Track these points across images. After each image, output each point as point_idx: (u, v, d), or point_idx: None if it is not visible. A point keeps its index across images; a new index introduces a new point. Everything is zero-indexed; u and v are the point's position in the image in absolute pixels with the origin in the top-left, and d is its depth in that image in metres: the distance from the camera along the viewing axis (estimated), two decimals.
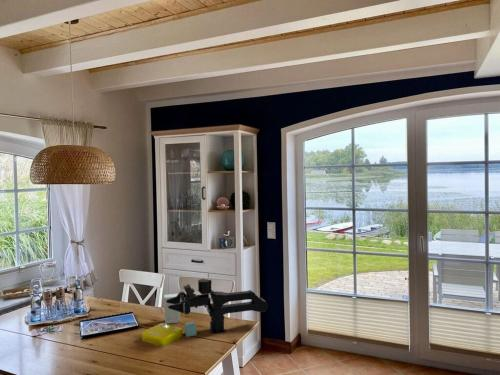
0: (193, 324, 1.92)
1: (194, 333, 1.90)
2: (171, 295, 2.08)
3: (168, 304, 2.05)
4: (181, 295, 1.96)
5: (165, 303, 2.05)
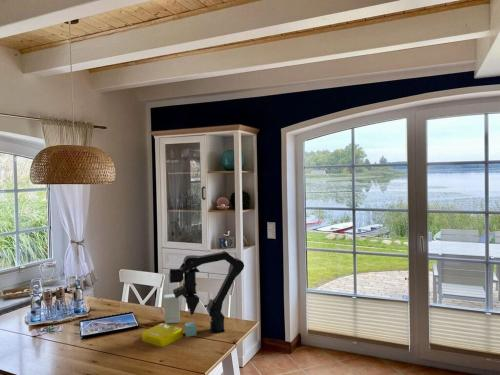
0: (193, 324, 1.92)
1: (194, 333, 1.90)
2: (171, 295, 2.08)
3: (168, 304, 2.05)
4: None
5: (165, 303, 2.05)
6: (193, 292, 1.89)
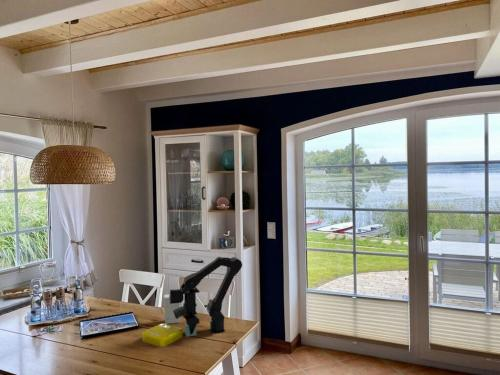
0: None
1: (194, 333, 1.90)
2: None
3: (168, 304, 2.05)
4: None
5: (165, 303, 2.05)
6: (193, 313, 1.90)
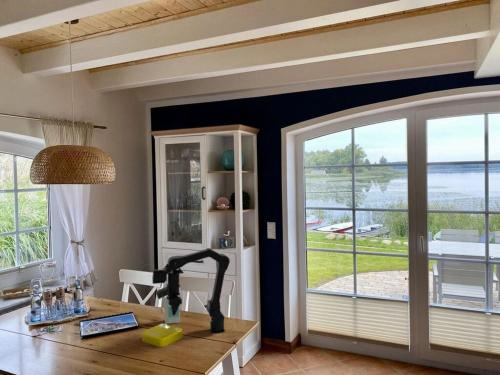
0: None
1: (177, 314, 1.87)
2: None
3: None
4: None
5: (165, 303, 2.05)
6: (176, 293, 1.87)
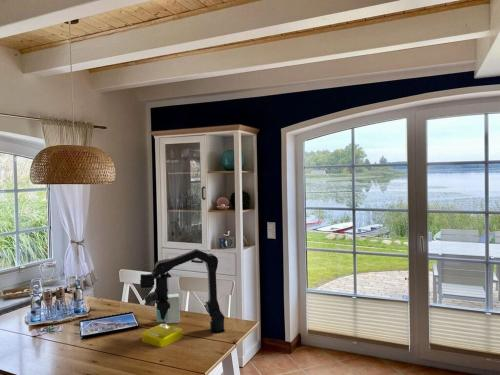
0: None
1: (165, 318, 1.86)
2: (171, 295, 2.08)
3: None
4: (157, 300, 1.90)
5: None
6: (165, 298, 1.85)
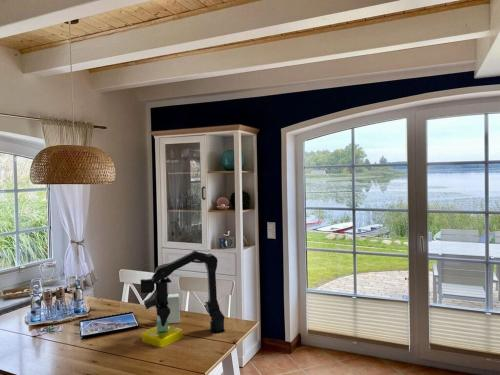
0: None
1: (166, 328, 1.86)
2: (171, 295, 2.08)
3: (168, 304, 2.05)
4: None
5: None
6: (165, 303, 1.85)
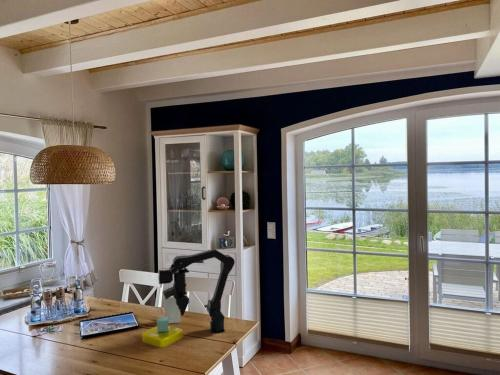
0: (165, 319, 1.87)
1: (166, 328, 1.86)
2: None
3: (168, 304, 2.05)
4: None
5: (165, 303, 2.05)
6: (183, 293, 1.88)
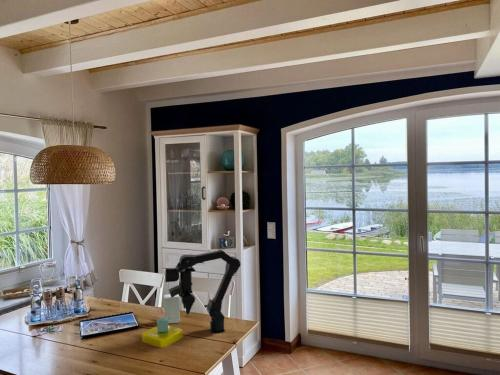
0: (165, 319, 1.87)
1: (166, 328, 1.85)
2: None
3: (168, 304, 2.05)
4: None
5: (165, 303, 2.05)
6: (189, 291, 1.89)
